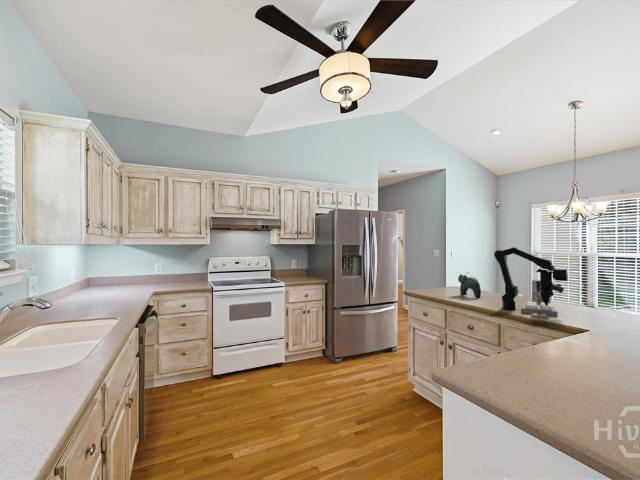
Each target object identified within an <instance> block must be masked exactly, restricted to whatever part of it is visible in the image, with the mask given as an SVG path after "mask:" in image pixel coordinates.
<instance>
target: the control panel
mask: <svg viewBox="0 0 640 480" xmlns="http://www.w3.org/2000/svg"><path fill="white" fill-rule="evenodd" d="M536 305H537V309H531V308H527V303H522V309H521V310H522V311H521V313H522V314H526V313H528V314H527V315H531V313H539V314H548V317H556V318H557V317H558V310H557V307H556V306H555V305H551V306H552V310H542V309H541V304H536Z"/></svg>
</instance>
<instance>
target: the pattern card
mask: <svg viewBox="0 0 640 480" xmlns="http://www.w3.org/2000/svg"><path fill="white" fill-rule="evenodd" d="M530 316H531V318H535V317H536V318H537V319H547V320H549V316H548V314H539V313H531V314H530Z"/></svg>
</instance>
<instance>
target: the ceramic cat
mask: <svg viewBox="0 0 640 480" xmlns="http://www.w3.org/2000/svg"><path fill="white" fill-rule="evenodd" d="M467 274H468V275H470V273H469V272H468V271H466V272H465V274H464V275H463V274H462V273H460V274H459V276H458V279H457V280H458V282H459V283H460V289H459V291H460V294H461V295H467V292H468V290H469V289H470V290H471V291H472V292H473V296H474V298H475V297H476V298H480V299H481V297H482V296H481V295H482V290H481V285H480V284H481V283H480V282H479V281H478V279H477V278H476V277H474V276H470V277H468V275H467ZM461 295H460V296H461Z"/></svg>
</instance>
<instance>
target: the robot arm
mask: <svg viewBox="0 0 640 480" xmlns="http://www.w3.org/2000/svg"><path fill="white" fill-rule="evenodd" d="M513 254H514V255H516V256H519V257H521V258H523V259H525V260H527V261H529V262H532V263H533V264H535V265H536V266H538V267H539V268H538V269H537V270H536V271H535V272H536V273H539V279H540V280H539V281H540V295H541V297H542V299H543V301H544V303H545V305H548V302H549V298H550V299H551V297H554V294H555V293H554V292H559V293H561V294H562V293H563V292H564V290H565V287H563V286H562V284H560V283H557V284H555V283H554V282H553V280H554V281H560V282H568V280H569V277H568V276H569V274H568V271H567V269H566V268H565V269H557V268H556V267H555V266H554V265H553V262H552V260H551V259H548V258H544V257H539V256H536V255H533V254H531V253H529V252H526V251H525V250H522V249H519V248H518V247H511V248H506V249H499V250H498V249H496V250H495V252H494V254H493V256H494V258H495V260H496V261H497V263H498V264H499V267H500V271H501V275H502V277H503V278H502V279H503V281H504V294H503V295H502V296H501V300H502V301H501V303H502V305H501V307H502V308H501V309H503V310H507V311H516V310H517V309H516V302H515V298H516V297H517V296H518V295H519V290H518V285H514V283H513V280H512V277H511V273H510V268H509V266H508V263H507V262H508V256H510V255H513Z"/></svg>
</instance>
